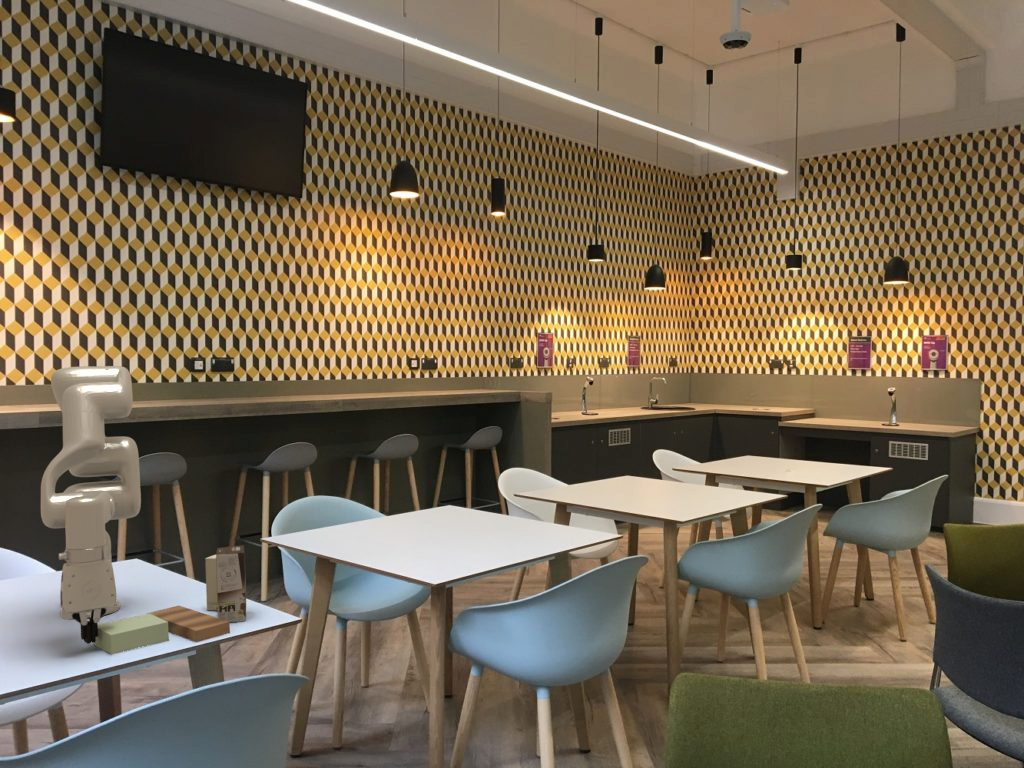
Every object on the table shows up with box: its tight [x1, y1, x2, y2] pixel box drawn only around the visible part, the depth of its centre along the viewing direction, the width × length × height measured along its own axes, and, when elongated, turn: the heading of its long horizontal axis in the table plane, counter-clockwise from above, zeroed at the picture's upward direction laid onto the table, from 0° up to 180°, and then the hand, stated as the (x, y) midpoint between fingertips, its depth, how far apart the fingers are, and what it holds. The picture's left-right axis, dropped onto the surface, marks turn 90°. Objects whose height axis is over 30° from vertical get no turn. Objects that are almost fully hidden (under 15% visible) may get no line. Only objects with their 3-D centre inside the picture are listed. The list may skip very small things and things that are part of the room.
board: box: [146, 605, 231, 643], centre depth 197 cm, size 22×8×3 cm, turn 49°
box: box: [204, 554, 218, 611], centre depth 213 cm, size 5×4×13 cm
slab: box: [93, 613, 170, 655], centre depth 188 cm, size 10×12×4 cm
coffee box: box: [215, 545, 247, 623], centre depth 205 cm, size 9×6×16 cm
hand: (89, 641), depth 183 cm, fingers closed
